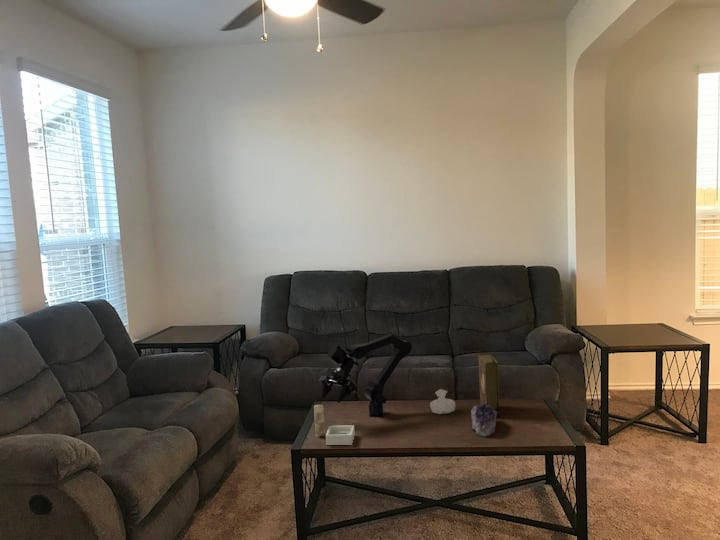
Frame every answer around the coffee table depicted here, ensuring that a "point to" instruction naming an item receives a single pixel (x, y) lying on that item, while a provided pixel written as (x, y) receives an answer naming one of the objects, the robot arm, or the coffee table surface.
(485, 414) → the geode
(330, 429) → the bore box
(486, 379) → the book
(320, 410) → the peg
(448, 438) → the coffee table surface
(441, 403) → the white rounded necked piece
